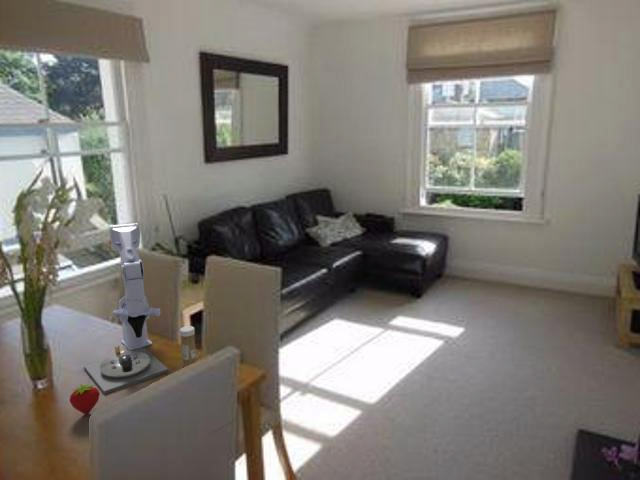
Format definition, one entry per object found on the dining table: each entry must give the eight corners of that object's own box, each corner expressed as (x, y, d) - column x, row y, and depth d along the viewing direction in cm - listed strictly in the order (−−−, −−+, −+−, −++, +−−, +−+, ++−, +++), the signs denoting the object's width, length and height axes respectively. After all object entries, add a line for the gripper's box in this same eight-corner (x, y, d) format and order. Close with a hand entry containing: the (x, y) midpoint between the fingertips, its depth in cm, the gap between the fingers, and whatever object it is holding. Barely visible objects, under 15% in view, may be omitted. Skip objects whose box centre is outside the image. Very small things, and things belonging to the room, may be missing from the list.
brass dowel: (115, 357, 167) (114, 346, 166) (119, 355, 168) (118, 345, 167) (116, 358, 166) (115, 347, 165) (121, 357, 167) (119, 346, 166)
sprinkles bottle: (198, 366, 163) (196, 329, 159) (185, 370, 160) (182, 332, 157) (194, 361, 166) (191, 324, 163) (180, 364, 164) (177, 327, 160)
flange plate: (92, 364, 161) (90, 350, 160) (136, 349, 171) (135, 336, 170) (111, 384, 150) (109, 369, 149) (157, 367, 160) (156, 352, 159)
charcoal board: (84, 368, 161) (83, 365, 161) (144, 349, 174) (143, 347, 174) (104, 394, 147) (104, 391, 147) (168, 371, 159) (168, 368, 159)
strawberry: (102, 416, 136) (98, 383, 134) (72, 423, 133) (67, 390, 131) (101, 405, 141) (97, 373, 139) (72, 411, 138) (67, 379, 136)
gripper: (108, 303, 155) (112, 342, 159) (155, 301, 157) (159, 340, 160) (114, 295, 162) (119, 333, 166) (160, 293, 164) (163, 331, 167)
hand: (139, 336), depth 163 cm, fingers closed
